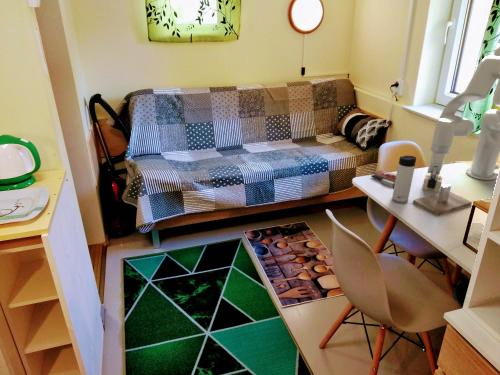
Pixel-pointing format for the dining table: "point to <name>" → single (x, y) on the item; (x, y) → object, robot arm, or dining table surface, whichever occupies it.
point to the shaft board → (442, 202)
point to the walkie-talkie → (385, 178)
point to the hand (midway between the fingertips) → (431, 183)
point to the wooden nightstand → (438, 183)
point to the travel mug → (403, 179)
